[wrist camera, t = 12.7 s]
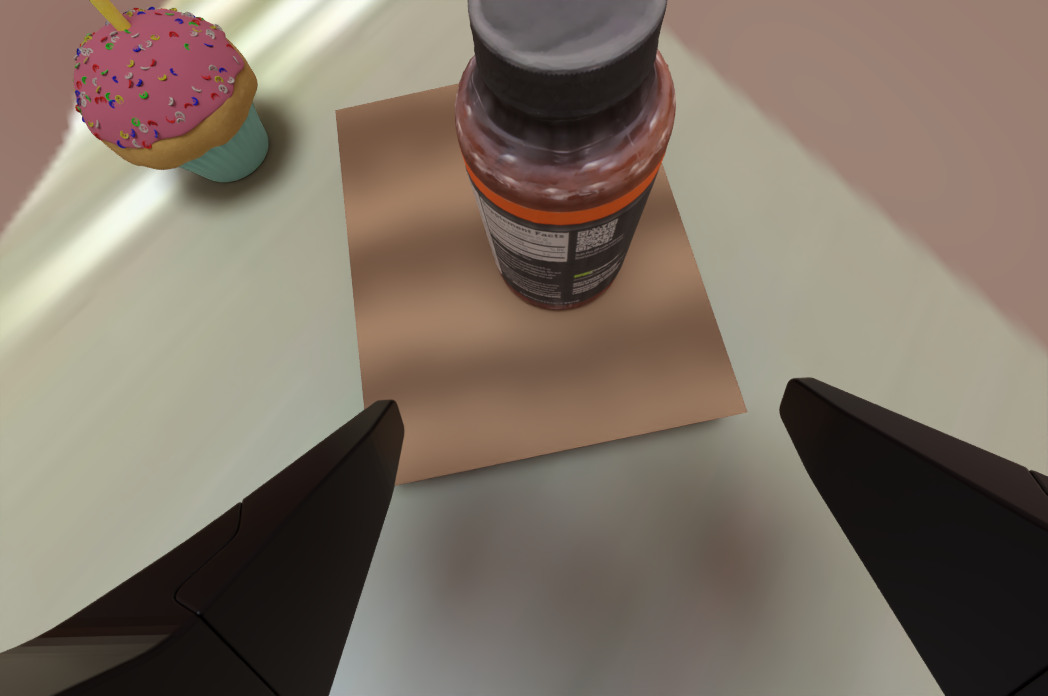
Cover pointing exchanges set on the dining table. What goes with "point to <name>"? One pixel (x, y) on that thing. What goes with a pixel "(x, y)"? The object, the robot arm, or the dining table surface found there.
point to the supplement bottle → (563, 137)
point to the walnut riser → (509, 312)
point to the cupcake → (169, 93)
